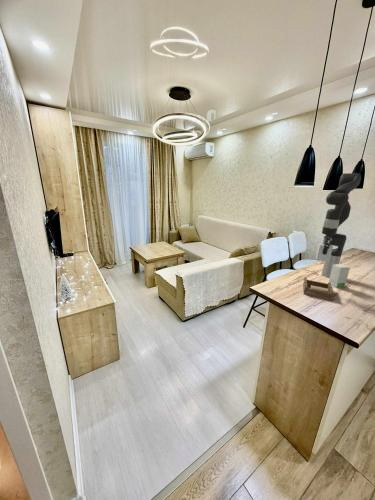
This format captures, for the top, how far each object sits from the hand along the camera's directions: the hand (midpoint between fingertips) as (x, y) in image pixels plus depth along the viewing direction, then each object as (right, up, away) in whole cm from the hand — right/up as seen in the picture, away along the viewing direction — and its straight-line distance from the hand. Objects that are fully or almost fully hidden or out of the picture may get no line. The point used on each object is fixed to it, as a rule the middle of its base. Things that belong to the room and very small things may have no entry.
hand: (324, 253), depth 132 cm
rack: (-4, -26, +1) cm, 26 cm away
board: (0, -4, +1) cm, 5 cm away
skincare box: (+16, -23, +12) cm, 31 cm away
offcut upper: (-6, -24, -3) cm, 25 cm away
